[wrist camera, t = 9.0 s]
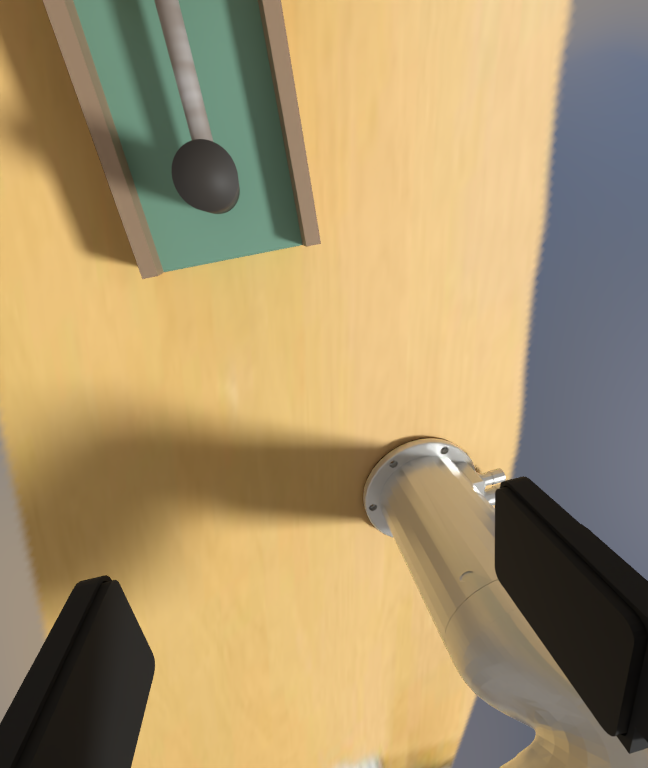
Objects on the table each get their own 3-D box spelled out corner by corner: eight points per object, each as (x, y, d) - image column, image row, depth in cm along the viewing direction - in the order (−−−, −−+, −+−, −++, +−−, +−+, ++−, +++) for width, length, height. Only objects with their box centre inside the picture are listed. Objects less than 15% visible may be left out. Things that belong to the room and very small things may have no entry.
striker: (200, -106, 20) (176, -292, 13) (266, 206, 26) (275, 199, 19) (82, -94, 20) (-15, -283, 12) (178, 222, 26) (151, 222, 18)
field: (218, -291, 20) (210, -442, 15) (310, 240, 31) (322, 244, 26) (-31, -278, 19) (-119, -439, 14) (156, 270, 29) (140, 280, 25)
